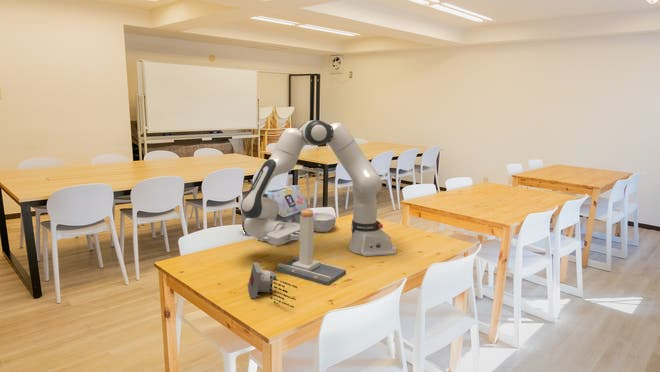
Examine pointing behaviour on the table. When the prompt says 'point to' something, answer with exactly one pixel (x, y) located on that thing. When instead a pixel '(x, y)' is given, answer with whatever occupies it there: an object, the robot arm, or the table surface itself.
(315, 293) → the table surface
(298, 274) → the slider track
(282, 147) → the robot arm
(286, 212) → the lunch bag
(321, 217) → the paper bowls
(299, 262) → the slider handle
